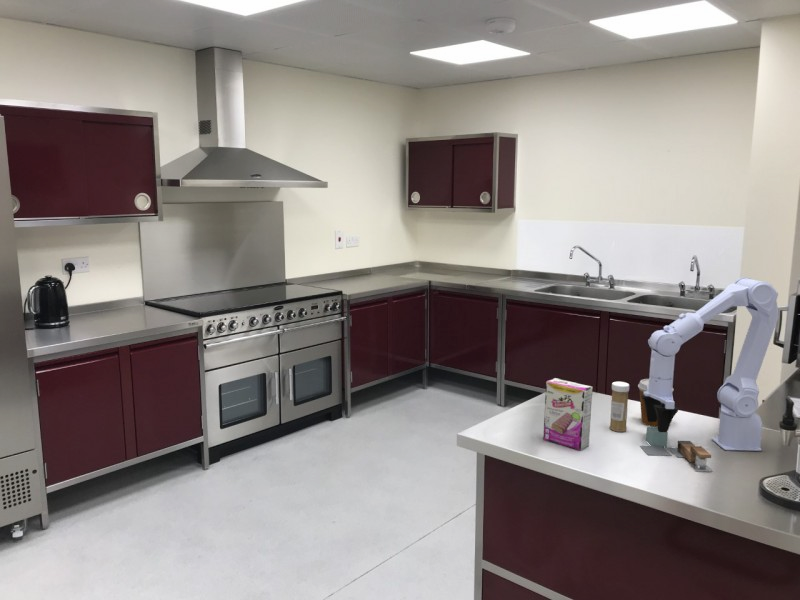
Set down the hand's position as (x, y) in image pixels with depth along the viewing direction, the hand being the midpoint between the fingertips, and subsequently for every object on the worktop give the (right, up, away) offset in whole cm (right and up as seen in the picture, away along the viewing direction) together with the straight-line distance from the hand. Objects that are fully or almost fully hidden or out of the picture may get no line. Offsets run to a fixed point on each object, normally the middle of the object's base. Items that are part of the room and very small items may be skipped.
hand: (657, 426), depth 164 cm
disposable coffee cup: (+6, -3, +16) cm, 17 cm away
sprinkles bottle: (-7, -3, +11) cm, 13 cm away
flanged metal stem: (+5, -7, -14) cm, 17 cm away
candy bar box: (-24, -5, +1) cm, 24 cm away
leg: (+5, -6, -10) cm, 13 cm away
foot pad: (+5, -6, -5) cm, 9 cm away
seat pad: (-2, -5, -4) cm, 7 cm away
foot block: (0, -5, +1) cm, 5 cm away
